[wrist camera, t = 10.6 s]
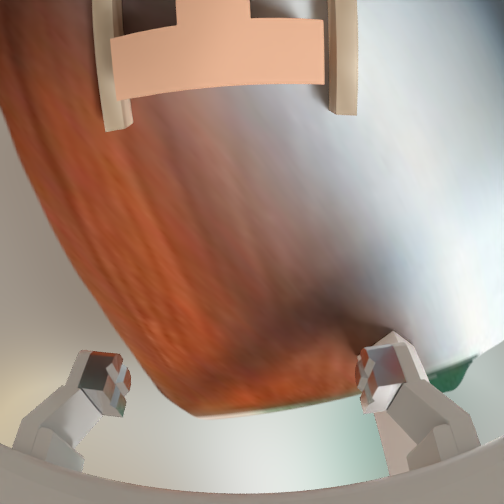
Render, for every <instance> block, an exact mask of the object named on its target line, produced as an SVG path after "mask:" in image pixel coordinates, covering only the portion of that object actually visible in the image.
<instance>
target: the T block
mask: <svg viewBox="0 0 504 504" xmlns="http://www.w3.org/2000/svg"><path fill="white" fill-rule="evenodd" d="M176 16H177V25H175V26H168V27H162V28H157V29H152V30H147V31H142V32H137V33H132V34H128V35H124V36H120V37H116V38H112V39H110V45H111V56H112V66H113V75H114V83H115V91H116V99H117V101H121V100H126V99H131V98H136V97H142V96H148V95H154V94H160V93H167V92H174V91H182V90H190V89H199V88H209V87H221V86H235V85H255V84H323V85H324V25H323V20H319V19H301V18H251V16H250V0H176Z"/></svg>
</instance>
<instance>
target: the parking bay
mask: <svg viewBox="0 0 504 504" xmlns="http://www.w3.org/2000/svg"><path fill="white" fill-rule="evenodd" d="M327 6H328V34H329V111H331V112H333V113H334V114H336V115H356V116H357V93H358V20H357V0H327ZM92 15H93V32H94V46H95V57H96V67H97V76H98V84H99V92H100V99H101V106H102V112H103V119H104V125H105V131H106V132H109V131H114V130H120V129H125V128H126V127H128V126H129V125H131V124H132V123H133V117H132V110H131V103H130V99H126V100H121V101H117V99H116V91H115V83H114V75H113V66H112V56H111V45H110V39H112V38H116V37H120V36H124V34H123V18H122V0H92Z"/></svg>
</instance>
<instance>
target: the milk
mask: <svg viewBox="0 0 504 504" xmlns="http://www.w3.org/2000/svg"><path fill="white" fill-rule="evenodd" d="M400 342H405V343H406V344H407V347H408V349H409V351H410V354H411V356H412V359H413V361H414V364H415V366H416V368H417V371H418V374H419V376H420V379H421V380H422V379H425V380H426V381H428V382H429V380H428V378H427V375H426V373H425V370H424V368H423V366H422V364H421V361H420V359H419V357H418V354H417V352H416V350H415V348H414V346H413V345H412V344H411V343H409V342H408V341H407V340H405V339H404V338H403V337H401V336H400V335H399V334H397V333H396V332H395V331H392V332H391V333H389V334H388V335H386V336H385V337H384V338H382V339H381V340H380V341H378V342H377V343H375V344H374V345H373V346H378V345H385V344H394V343H400ZM357 358H358V361H359V360H361V356H360V355H358V356H357ZM429 383H430V382H429ZM374 416H375V420H376V423H377V427H378V431H379V434H380V438H381V442H382V446H383V450H384V454H385V458H386V462H387V466H388V470H389V475H390V476H392V475H396V474H400V473H404V472H407V471H409V467H408V463H407V458H406V457H407V455H408V454H409V453H410V452H411V451H412V450H413V449H414V448H415V447H416V446H417V444H416V443H415V442H414V441H413V440H412V439H411V438H410V437H409V436H408V434H407V433H406V432H405V431H404V430H403V429H402V428H401V427H400V426H399V425H398V424H397V423H396V422H395V421H394V420H393V419H392V418H391V416H390V415H389V414H388V413H387V412H386V411H382V412H375V413H374Z"/></svg>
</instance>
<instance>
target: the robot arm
mask: <svg viewBox="0 0 504 504" xmlns="http://www.w3.org/2000/svg"><path fill="white" fill-rule="evenodd" d="M360 356H361V360H359V361H358V362H357V365H356V369H355V378H356V384H357V388H359V389H360V390H361V391H362V395H361V397H360V401H361V405H362V409H363V413H364V414H368V413H375V412H382V411H386V412H387V413H388V414H389V415H390V416H391V418H392V419H393V420H394V421H395V422H396V423H397V424H398V425H399V426H400V427H401V428H402V429H403V430H404V431H405V432H406V433H407V434H408V436H409V437H410V438H411V439H412V440H413V441H414V442H415V443H416V444H417V446H416V447H415V448H414V449H413V450H412V451H411V452H410V453H409V454H408V455H407V457H406V458H407V463H408V467H409V471H407V472H404V473H400V474H396V475H392V476H388V477H384V478H380V479H375V480H371V481H366V482H361V483H355V484H350V485H344V486H337V487H331V488H323V489H315V490H307V491H296V492H281V493H259V494H226V493H204V492H190V491H179V490H170V489H162V488H155V487H148V486H141V485H136V484H130V483H125V482H120V481H115V480H110V479H106V478H102V477H97V476H93V475H89V474H86V473H82V468H83V464H84V458H83V456H82V455H81V454H80V453H78V452H77V451H76V450H75V449H74V448H75V447H76V446H77V445H78V444H79V442H80V441H81V440H82V439H83V438H84V437H85V436H86V434H87V433H88V432H89V431H90V430H91V429H92V428H93V426H94V425H95V424H96V423H97V422H98V421H99V419H101V417H102V415H107V416H115V417H123V414H124V410H125V406H126V400H125V398H124V396H125V395H126V394H127V393H128V392H129V390H130V386H131V375H130V372H129V370H128V368H127V367H126V366H125V365H123V364H122V362H123V358H122V357H121V355H120V354H115V353H106V352H97V351H88V350H81V351H80V352H79V353H78V355H77V357H76V360H75V362H74V365H73V367H72V370H71V372H70V375H69V377H68V380H67V383H66V385H65V386H63V385H62V386H61V387H60V388H58V389H57V390H56V391H55V392H54V393H53V394H51V395H50V396H49V397H48V398H47V399H46V400H44V401H43V402H42V403H41V404H40V405H39V406H37V407H36V408H35V409H34V410H33V411H31V412H30V413H29V414H28V415H27V416H26V417H24V418H23V419H22V421H21V424H20V427H19V429H18V432H17V435H16V438H15V441H14V444H13V447H12V448H10V447H7V446H5V445H3V444H1V443H0V504H504V435H503V436H501V437H499V438H497V439H495V440H493V441H490V442H488V443H486V444H484V445H480V442H479V439H478V436H477V433H476V430H475V427H474V425H473V422H472V420H471V417H470V415H469V414H468V413H467V412H466V411H464V410H463V409H462V408H461V407H459V406H458V405H457V404H456V403H454V402H453V401H452V400H451V399H449V398H448V397H447V396H445V395H444V394H443V393H442V392H440V391H439V390H438V389H437V388H435V387H434V386H433V385H431V384H430V383H429V382H428V381H426V380H425V379H422V380H421V379H420V376H419V374H418V371H417V368H416V366H415V364H414V361H413V359H412V356H411V354H410V351H409V349H408V347H407V344H406V343H405V342H400V343H394V344H385V345H378V346H371V347H364V348H363V349H362V350H361V353H360Z"/></svg>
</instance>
